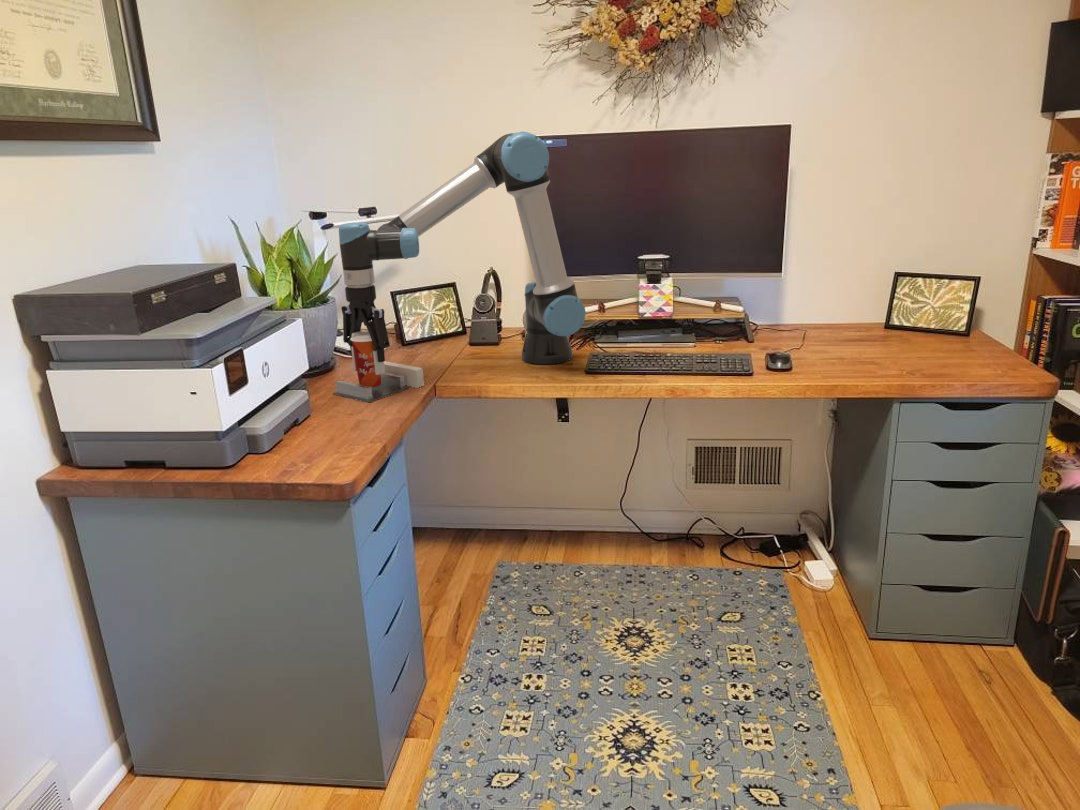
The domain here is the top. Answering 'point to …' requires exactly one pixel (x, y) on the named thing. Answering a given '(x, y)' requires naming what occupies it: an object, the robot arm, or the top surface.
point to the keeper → (372, 388)
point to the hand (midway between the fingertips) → (369, 371)
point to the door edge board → (406, 373)
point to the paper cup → (365, 359)
